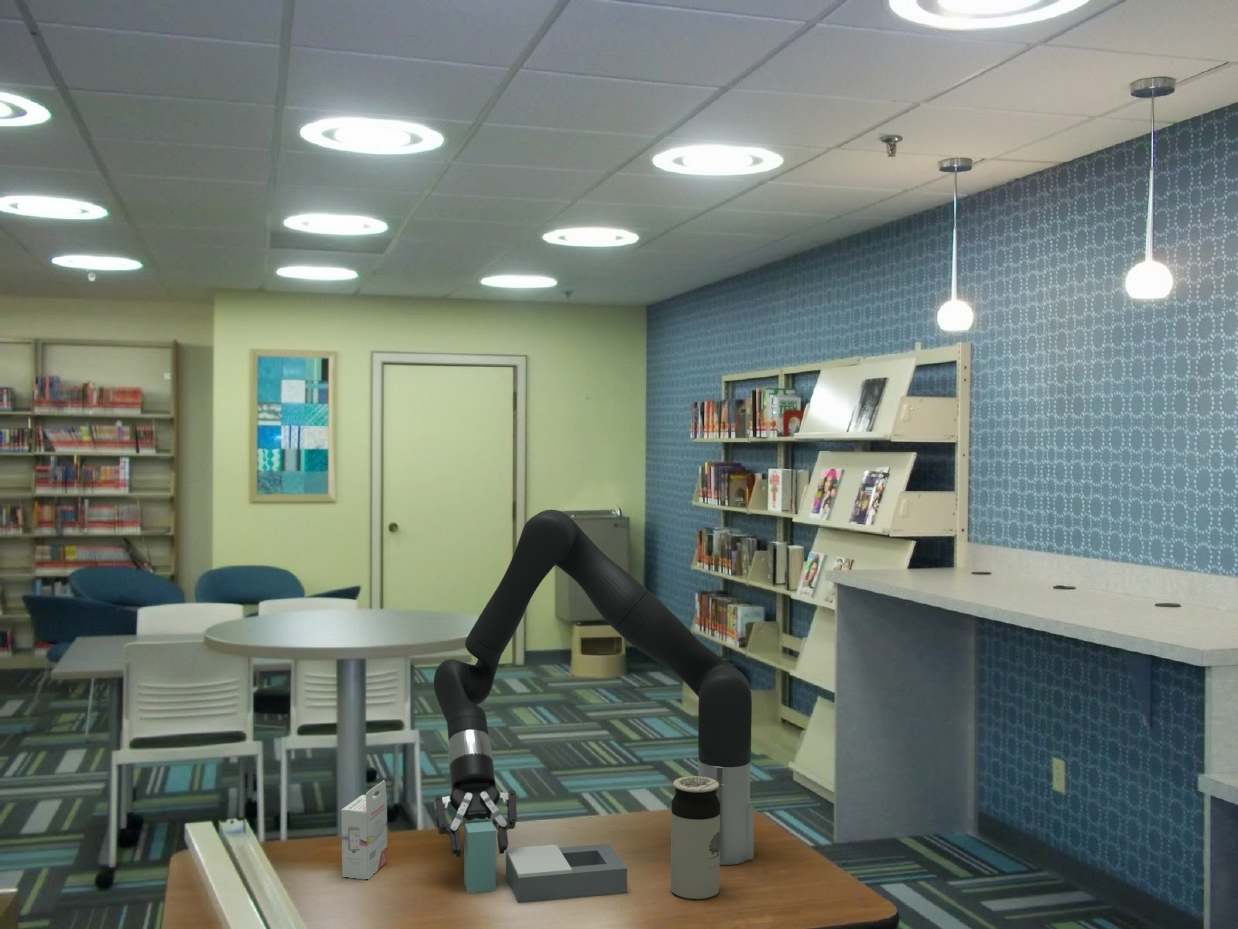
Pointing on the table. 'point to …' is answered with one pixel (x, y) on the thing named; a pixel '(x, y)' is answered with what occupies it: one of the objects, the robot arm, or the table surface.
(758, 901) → the table surface
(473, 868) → the teal peg
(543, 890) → the rail
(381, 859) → the ink cartridge box
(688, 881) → the travel mug
